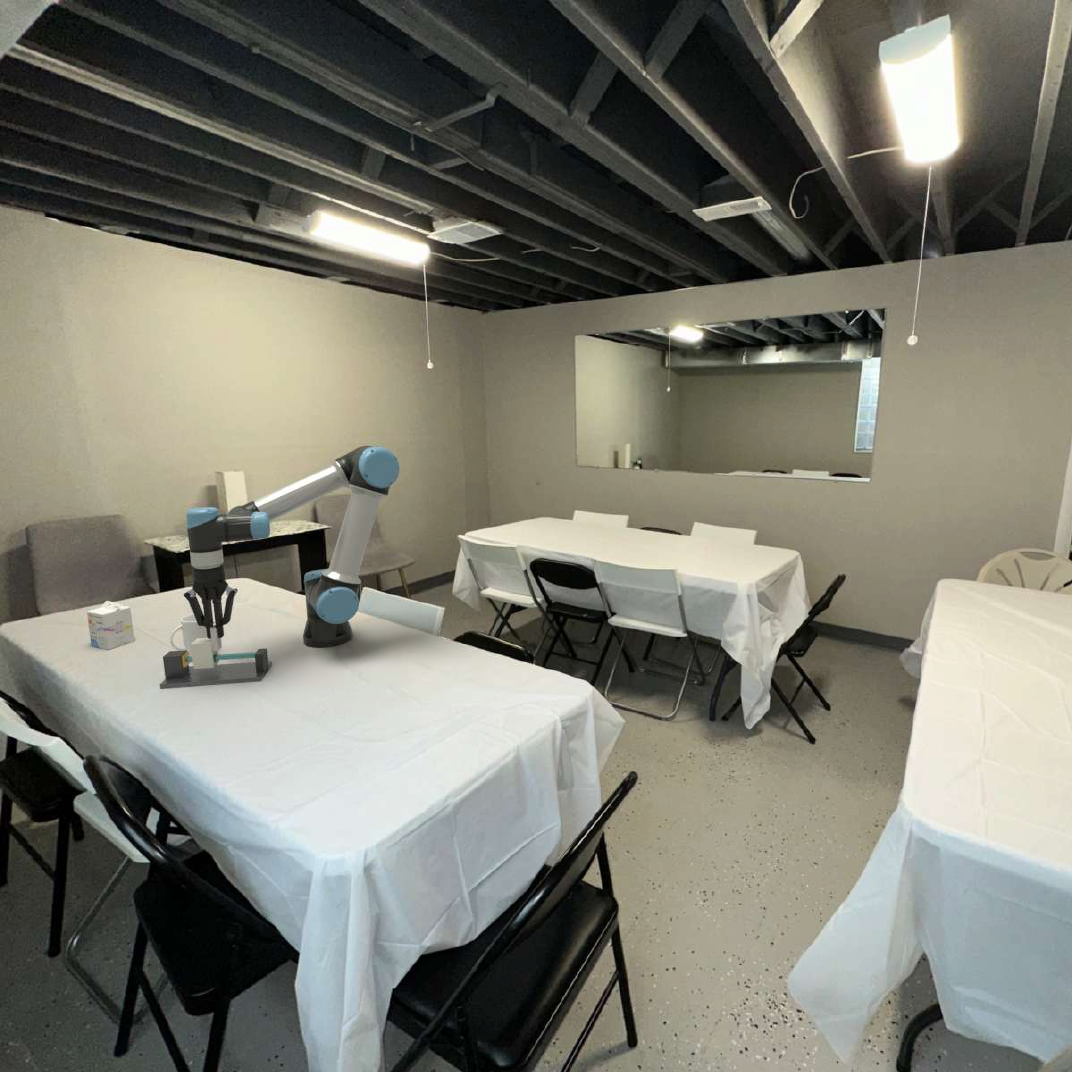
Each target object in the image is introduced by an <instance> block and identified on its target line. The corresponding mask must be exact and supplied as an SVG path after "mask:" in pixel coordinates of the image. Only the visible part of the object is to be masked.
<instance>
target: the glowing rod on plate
mask: <svg viewBox="0 0 1072 1072" xmlns="http://www.w3.org/2000/svg"><path fill="white" fill-rule="evenodd" d="M213 657H214V661H215V660H219V661H228V660H230V661H231V660H241V659H242V660H243V659H254V661H252V662H251V661H249V662H248V661H247V662H239V663H236V662H235V663H222V664H219V663H217V665H216V666H215V667H214V668H204V669H194V668H193V665H192V666H190V665H189V664H190V663H193V660H192V656H189V652H187V650H183V651H179V650H172V651H168V652H167V653H166V654H165V655H163V657H162V661H163V668H164V676H165V678H164V680H163V681H162V682H161V683H159V688H160V689H170V688H171V689H174V688H188V687H200V686H211V685H212V686H213V685H224V684H225V685H226V684H239V683H243V684H244V683H252V682H262V680H263V679H264V678H265V676H266V674H267V673H268V672H269V670H270V669H271V668H272V665H273V662H272V660H269V656H268V648H266V647H265V648H259V649H258V650H257V651H253V652H252V651H251V652H249V651H248V652H235V653H221V654H219V653H218V655H213Z"/></svg>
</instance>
